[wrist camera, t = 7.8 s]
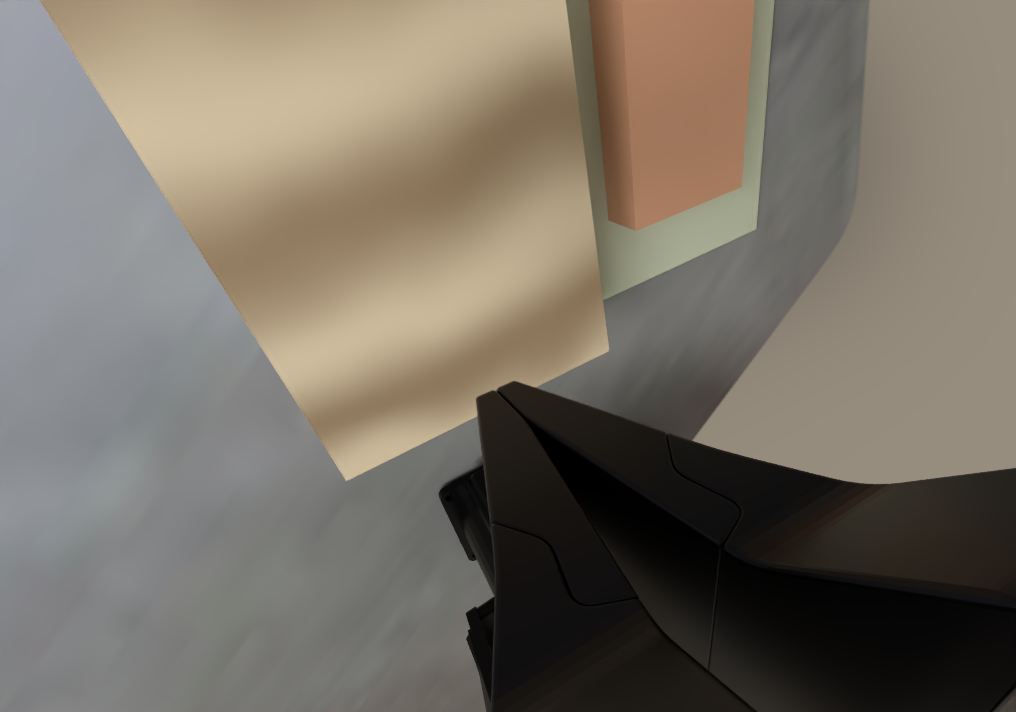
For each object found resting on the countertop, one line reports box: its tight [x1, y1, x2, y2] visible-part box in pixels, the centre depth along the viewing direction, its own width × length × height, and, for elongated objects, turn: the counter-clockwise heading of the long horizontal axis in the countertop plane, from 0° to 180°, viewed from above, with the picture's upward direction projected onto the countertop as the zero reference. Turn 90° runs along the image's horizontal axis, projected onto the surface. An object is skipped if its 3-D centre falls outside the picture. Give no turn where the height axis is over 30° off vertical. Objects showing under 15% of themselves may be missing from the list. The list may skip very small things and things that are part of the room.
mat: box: [566, 0, 774, 300], centre depth 21 cm, size 18×12×1 cm, turn 14°
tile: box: [588, 0, 755, 231], centre depth 20 cm, size 9×6×2 cm, turn 13°
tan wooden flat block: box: [40, 0, 609, 481], centre depth 16 cm, size 18×12×4 cm, turn 14°
